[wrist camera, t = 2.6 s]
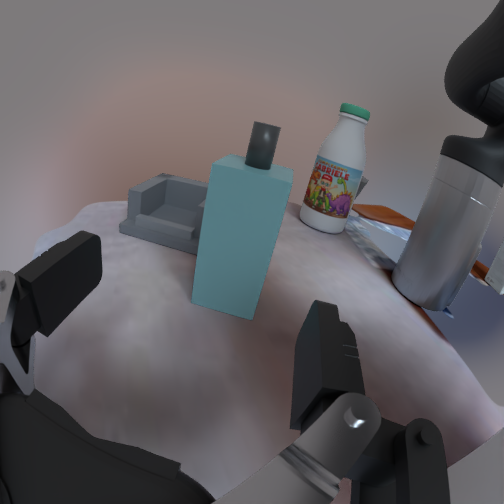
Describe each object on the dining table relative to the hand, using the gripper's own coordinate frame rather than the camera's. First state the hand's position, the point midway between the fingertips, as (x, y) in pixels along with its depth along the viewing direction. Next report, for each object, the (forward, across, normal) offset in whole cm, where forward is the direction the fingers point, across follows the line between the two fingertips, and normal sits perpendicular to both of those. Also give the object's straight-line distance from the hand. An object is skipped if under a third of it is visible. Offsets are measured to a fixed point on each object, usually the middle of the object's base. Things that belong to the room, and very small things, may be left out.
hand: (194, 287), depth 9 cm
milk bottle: (+36, -10, +8) cm, 38 cm away
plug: (+12, 0, +8) cm, 14 cm away
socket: (+21, +9, +8) cm, 24 cm away
